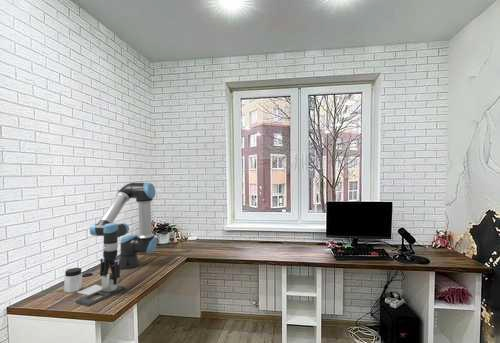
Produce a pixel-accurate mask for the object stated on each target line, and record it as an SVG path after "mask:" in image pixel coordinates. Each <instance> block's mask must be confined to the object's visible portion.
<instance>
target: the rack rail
mask: <svg viewBox="0 0 500 343" xmlns="http://www.w3.org/2000/svg"><path fill="white" fill-rule="evenodd" d="M124 290H126V286H122V285H118V288H117V290H116V291H113V292H111V293H109V294H108V293H103V292H101V290H100V291H97V292H95V293H93V294H90V295H85V296H84V297H81V298H79V299H76V300H75V304H79V305H82V306H86V307H91V306H92V305H95V304H97V303H98V302H100V301H103V300H105V299H107V298H109V297H112V296H114V295H116V294H118V293H120V292H122V291H124ZM95 296H101V297H99V298H96V299H91V298H93V297H95Z"/></svg>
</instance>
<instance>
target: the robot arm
mask: <svg viewBox="0 0 500 343" xmlns="http://www.w3.org/2000/svg"><path fill="white" fill-rule="evenodd" d="M154 198H156V188H155V186H154V184H152V183H151V182H130V183H127V184H125V185H124V186H122V187H121V188H119V190H118V191H117V193H116V194H115V198H114V200H112V202H111V204H110V205H109V207H108V208H107V210H106V211H105V213H103V215H102V216H101V218H100V220H99V221H98V222H97V223H93V224H91V225H90V226H89V234H90V235H91V236H94V237H95V236H96V237H103V252H102V257H103V258H101V259H99V261H100V270H99V275H100V277H102V276H104V275H106V274H108V273H109V269H110V271H111V272H110V273H112V278H113V279H112V282H111V291H113V290H115V289H116V284H117V278H118V279H120V277H121V273H120V272H121V271H120V270H130V269H134V268H137V267H139V266H140V261H139V257H138V254H151V253H153V252H155V250H156V248H157V244H158V239H157V237H155V234H154V233H153V232H152V231H153V230H152V208H151V206H152V204H151V202H153V199H154ZM131 199H135V202H136V203H138V204H137V205H138V222H139V224H138V226H139V228H138V229H139V234H138V235H137V234H130V235H127V234H128V233H129V232H130V231H129V230H130V227H129V225H128V224H127V223H124V222H123V223H119V224H118V223H116V222H114V221H115V220H116V219H117V217H118V216H119V214H120V212H121V211H122V209H123V207H124V206H125V204H126V203H127V202H129V201H130V200H131ZM120 237H121V239H120V256H119V259H118V260H117V257H118V247H119V245H118V244H119V243H118V241H119V240H118V239H119V238H120Z"/></svg>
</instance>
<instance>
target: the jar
mask: <svg viewBox="0 0 500 343" xmlns="http://www.w3.org/2000/svg"><path fill="white" fill-rule="evenodd" d="M64 274H65V275H64V282H63V283H64V284H63V293H69V294H71V293H75V292H76V293H77V292H78V291H81V289H82V288H83V287H82V286H83V272H82V268H81V267H72V268H67V269H66V270H65V272H64Z"/></svg>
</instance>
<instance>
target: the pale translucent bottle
mask: <svg viewBox="0 0 500 343" xmlns="http://www.w3.org/2000/svg"><path fill="white" fill-rule="evenodd" d="M112 279H113V278H112V273H111V272H108V274H106V275H104V276H101V285H100V286H101V292H103V293H108V294H109V293H111V292H113V291H116V290H117V288H118V286H119V283H118V282H119V281H118V280H119V278H117V284H116V289H115V290H113V291H111V282H112Z"/></svg>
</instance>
